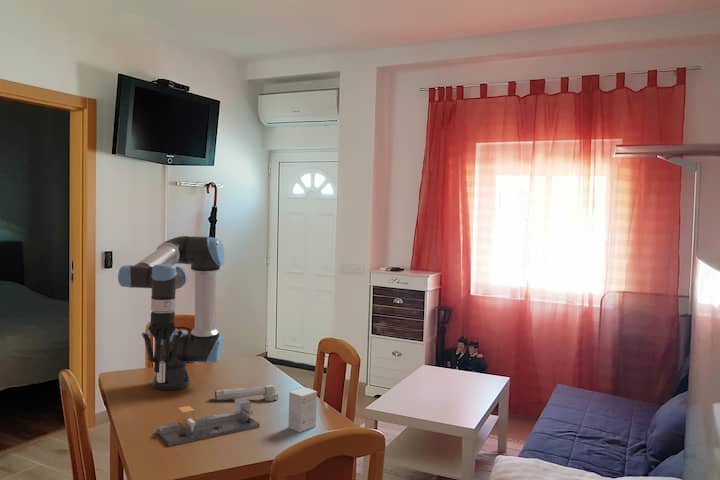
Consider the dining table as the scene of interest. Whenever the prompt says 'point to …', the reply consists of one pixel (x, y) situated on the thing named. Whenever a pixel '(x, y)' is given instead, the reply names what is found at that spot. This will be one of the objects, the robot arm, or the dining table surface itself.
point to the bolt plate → (210, 425)
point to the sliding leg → (186, 416)
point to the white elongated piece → (248, 393)
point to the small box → (302, 409)
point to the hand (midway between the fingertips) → (160, 381)
